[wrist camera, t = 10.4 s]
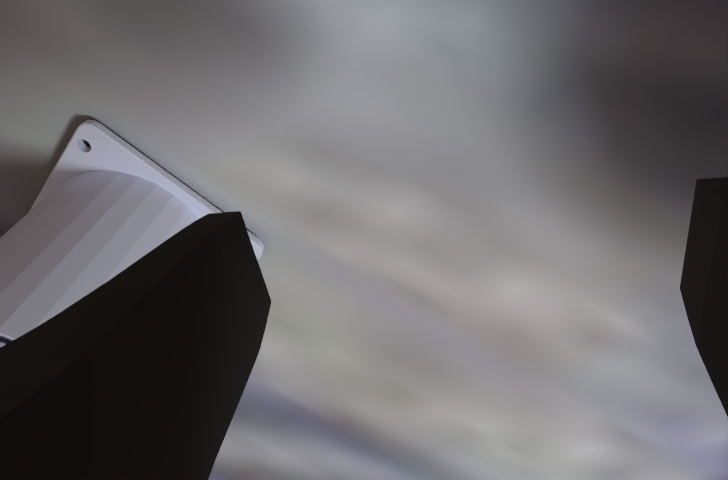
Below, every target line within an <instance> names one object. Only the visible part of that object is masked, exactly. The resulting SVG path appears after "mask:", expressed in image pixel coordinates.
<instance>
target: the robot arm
mask: <svg viewBox="0 0 728 480" xmlns="http://www.w3.org/2000/svg"><path fill="white" fill-rule="evenodd" d="M82 139H84V140H86V141H87V142H88V143H89V144H90V146H91V148H90V147H88V146H86V145H85V144H84V142H83V140H82ZM263 251H264V245H263V243H262V241H261V240H260V239H259V238H257V237H256V236H254V235H253V234H252V233H250V232H249V231H248V230H247V229H246V226H245V223H244V220H243V217H242V215H241V212H240V211H239V212H225V213H223V212H221V211H220V210H219V209H217V208H216V207H215V206H213V205H212V204H210V203H209V202H208V201H206V200H205V199H204V198H202V197H201V196H199V195H198V194H197V193H195V192H194V191H193V190H191V189H190V188H188V187H187V186H186V185H184V184H183V183H181V182H180V181H179V180H177V179H176V178H175V177H173V176H172V175H170V174H169V173H168V172H166V171H165V170H164V169H162V168H161V167H159V166H158V165H157V164H155V163H154V162H153V161H151V160H150V159H148V158H147V157H146V156H144V155H143V154H142V153H140V152H139V151H137V150H136V149H135V148H133V147H132V146H131V145H129V144H128V143H126V142H125V141H124V140H122V139H121V138H120V137H118V136H117V135H115V134H114V133H113V132H111V131H110V130H109V129H107V128H106V127H104V126H103V125H102V124H100V123H99V122H97V121H95V120H86V121H84V122H83V123H82V124H80V125H79V126H78V127H77V129H76V131H75V133H74V134H73V136H72V138H71V140H70V141H69V143H68V145H67V146H66V148H65V150H64V152H63V153H62V155H61V157H60V159H59V160H58V162H57V164H56V166H55V167H54V169H53V171H52V172H51V174H50V176H49V178H48V179H47V181H46V183H45V185H44V186H43V188H42V190H41V192H40V193H39V195H38V197H37V199H36V200H35V202H34V204H33V205H32V207H31V209H30V211H29V212H28V214H26V215H25V216H24V217H23V218H22V219H21V220H20V221H19V222H17V223H16V224H15V225H14V226H13V227H12V228H11V229H10V230H8V231H7V232H6V233H5V234H4V235H3V236H2V237H1V238H0V480H208V478H209V475H210V473H211V470H212V467H213V464H214V462H215V459H216V457H217V454H218V452H219V449H220V447H221V445H222V442H223V440H224V437H225V435H226V432H227V430H228V427H229V425H230V423H231V420H232V418H233V415H234V413H235V410H236V408H237V405H238V403H239V401H240V398H241V396H242V393H243V391H244V388H245V386H246V383H247V381H248V378H249V376H250V373H251V371H252V368H253V366H254V363H255V361H256V358H257V355H258V353H259V350H260V346H261V342H262V339H263V335H264V331H265V327H266V323H267V318H268V314H269V309H270V305H271V299H270V296H269V293H268V290H267V287H266V285H265V282H264V279H263V276H262V273H261V270H260V267H259V264H258V261H257V260H258V259H259V258H260V257H261V255H262V253H263ZM680 290H681V294H682V298H683V301H684V305H685V309H686V313H687V316H688V320H689V323H690V327H691V330H692V333H693V337H694V340H695V343H696V346H697V349H698V351H699V353H700V356H701V358H702V360H703V362H704V365H705V367H706V369H707V372H708V374H709V376H710V378H711V381H712V383H713V385H714V387H715V390H716V392H717V394H718V396H719V398H720V401H721V403H722V405H723V407H724V409H725V412H726V414H727V416H728V177H724V178H710V179H697V181H696V188H695V194H694V201H693V207H692V213H691V220H690V226H689V233H688V239H687V246H686V252H685V259H684V265H683V271H682V278H681V284H680Z"/></svg>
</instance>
